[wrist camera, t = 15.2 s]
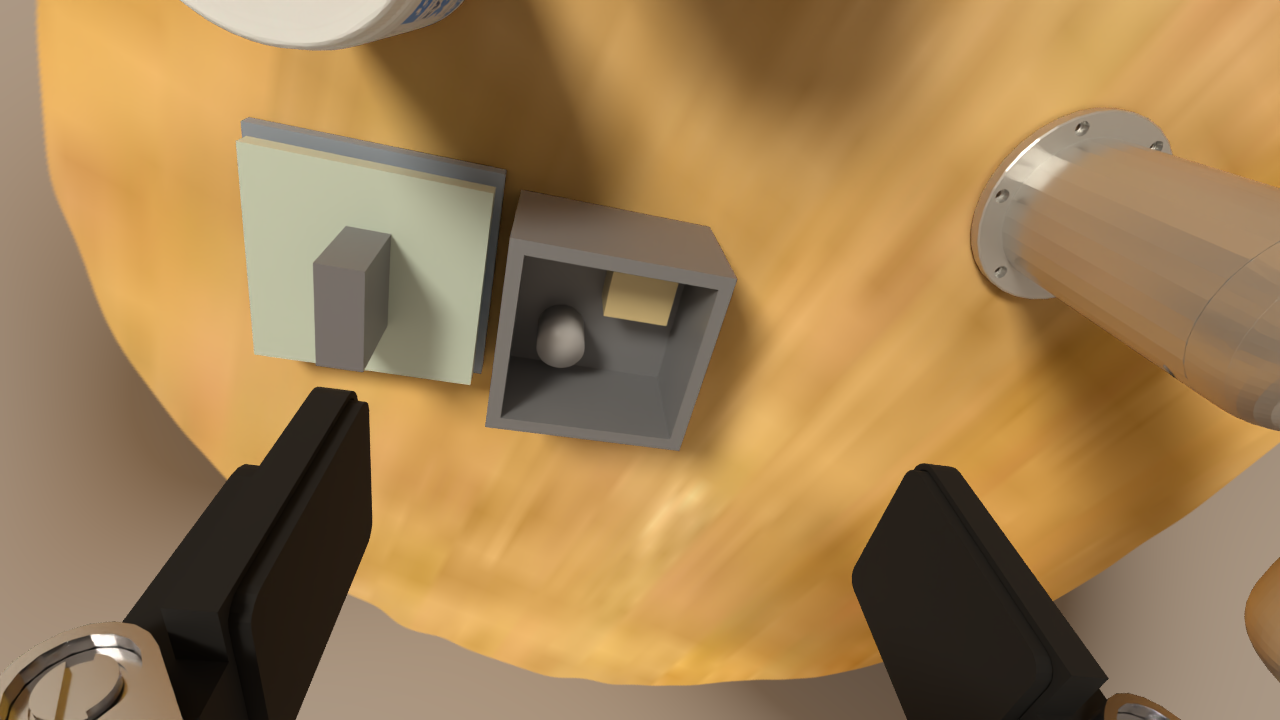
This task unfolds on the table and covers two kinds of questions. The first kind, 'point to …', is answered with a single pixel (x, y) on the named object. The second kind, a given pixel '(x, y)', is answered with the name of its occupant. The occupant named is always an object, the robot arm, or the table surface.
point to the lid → (362, 261)
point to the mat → (407, 161)
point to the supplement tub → (321, 20)
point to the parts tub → (605, 323)
